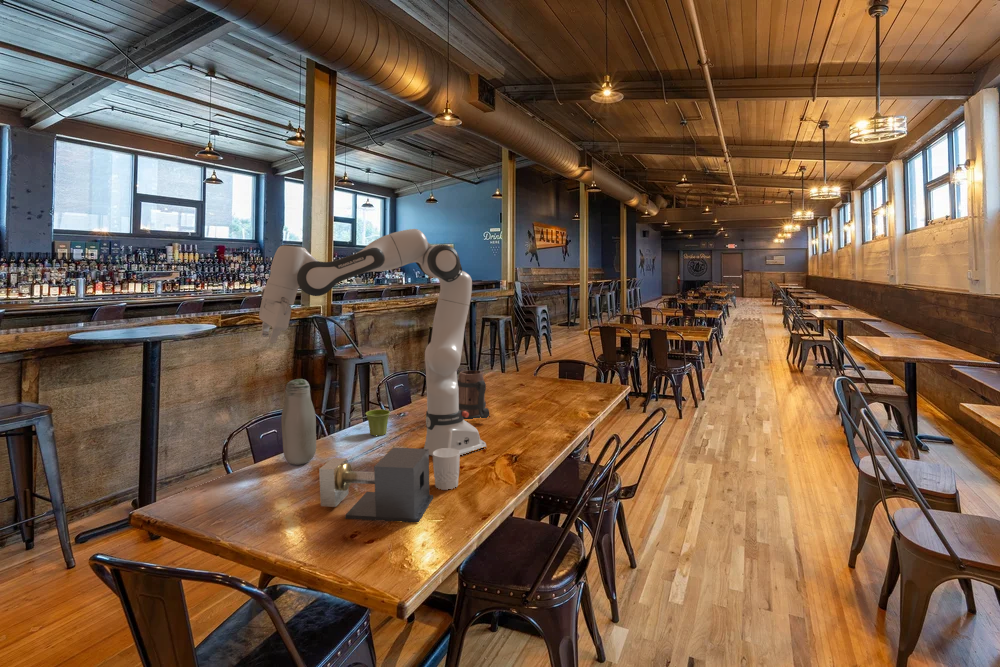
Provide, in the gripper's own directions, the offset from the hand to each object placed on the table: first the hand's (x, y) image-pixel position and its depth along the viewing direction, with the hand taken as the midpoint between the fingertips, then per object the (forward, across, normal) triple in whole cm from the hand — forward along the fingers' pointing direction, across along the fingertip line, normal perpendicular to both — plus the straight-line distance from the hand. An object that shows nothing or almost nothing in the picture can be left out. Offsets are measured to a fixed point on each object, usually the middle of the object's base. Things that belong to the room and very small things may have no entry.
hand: (268, 339), depth 150 cm
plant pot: (+31, +12, -52) cm, 62 cm away
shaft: (+31, -45, -22) cm, 59 cm away
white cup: (+27, -46, -46) cm, 70 cm away
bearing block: (+31, -49, -27) cm, 64 cm away
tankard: (+19, +8, -93) cm, 96 cm away
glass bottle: (+38, -1, -20) cm, 43 cm away
